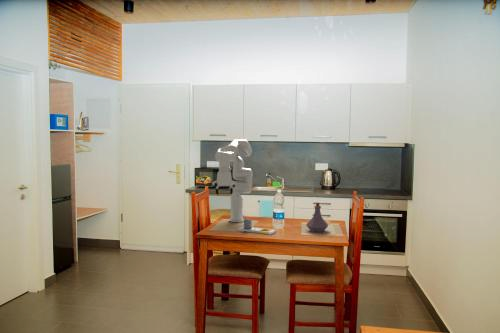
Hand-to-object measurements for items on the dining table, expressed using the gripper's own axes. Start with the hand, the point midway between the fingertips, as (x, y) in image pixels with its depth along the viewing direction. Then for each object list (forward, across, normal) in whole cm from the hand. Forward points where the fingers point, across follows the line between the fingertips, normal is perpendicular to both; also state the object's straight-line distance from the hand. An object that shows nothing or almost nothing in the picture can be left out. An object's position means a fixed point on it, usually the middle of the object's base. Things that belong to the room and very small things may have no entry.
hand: (224, 194), depth 276 cm
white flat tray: (+26, -22, +5) cm, 35 cm away
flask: (+26, -65, +12) cm, 71 cm away
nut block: (+26, -17, 0) cm, 31 cm away
